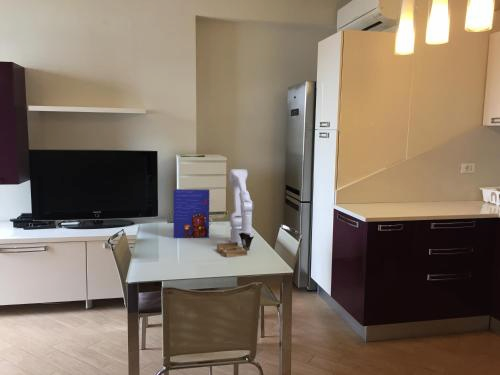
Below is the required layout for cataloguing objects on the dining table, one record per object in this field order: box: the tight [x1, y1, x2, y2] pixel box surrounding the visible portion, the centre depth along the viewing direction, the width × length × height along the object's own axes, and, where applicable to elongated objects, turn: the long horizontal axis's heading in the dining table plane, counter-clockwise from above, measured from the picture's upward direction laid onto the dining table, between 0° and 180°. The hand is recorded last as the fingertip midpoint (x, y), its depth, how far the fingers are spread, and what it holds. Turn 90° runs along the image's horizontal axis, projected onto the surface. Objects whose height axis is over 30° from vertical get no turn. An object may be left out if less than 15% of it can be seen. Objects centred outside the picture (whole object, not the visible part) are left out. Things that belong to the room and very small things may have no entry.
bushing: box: [242, 239, 251, 252], centre depth 248 cm, size 4×4×6 cm
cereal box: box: [173, 188, 210, 239], centre depth 273 cm, size 22×6×30 cm, turn 96°
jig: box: [216, 242, 248, 258], centre depth 241 cm, size 14×12×4 cm
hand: (246, 246), depth 248 cm, fingers open, 4 cm apart
